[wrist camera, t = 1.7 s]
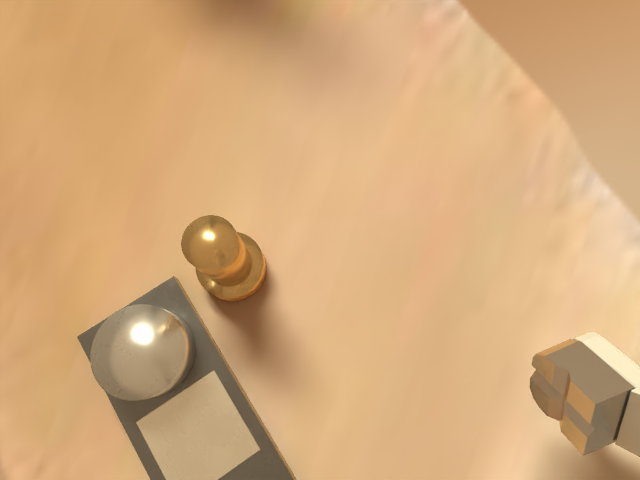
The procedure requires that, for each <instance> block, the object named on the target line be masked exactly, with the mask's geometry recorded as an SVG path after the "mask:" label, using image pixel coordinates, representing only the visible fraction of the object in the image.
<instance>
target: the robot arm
mask: <svg viewBox="0 0 640 480" xmlns="http://www.w3.org/2000/svg"><path fill="white" fill-rule="evenodd" d="M532 366H533V367H534V368H535V369H536V371H535V372H534V374H533V375H532V376H531V378H530V389H531V392H532V395H533V398H534V400H535V401H536V403H537V404H538V406H539V407H540V408H541V410H542V411H543V412H544V413H545V414H546V415H547V416H549V417H551V418H554V419H556V420H558V421H560V428H561V432H562V433H563V434H564V435H565V436H566V437H567V438H568V440H569V441H570V442H571V443H572V444H573V445H574V446H575V447H576V448H577V449H578V450H579V452H580V453H581V454H582V455H585V454H588V453H590V452H592V451H595V450H597V449H600V448H602V447H604V446H607V445H609V444H611V443H614V442H616V443H615V444H616V445H618V446H620V447H622V448H624V449H626V450H628V451H629V452H631V453H633V454H635V455H637V456H639V457H640V367H639V366H638V365H637V364H636V363H634V362H633V361H632V360H631V359H629V358H628V357H627V356H626V355H624V354H623V353H622V352H621V351H619V350H618V349H617V348H615V347H614V346H613V345H612V344H610V343H609V342H608V341H607V340H605V339H604V338H603V337H602V336H600V335H599V334H597V333H594V332H589V333H585V334H583V335H581V336H578V337H576V338H574V339H570V340H567V341H565V342H563V343H560V344H558V345H556V346H553V347H551V348H549V349H546V350H544V351H542V352H539V353H537V354H536V355H535V356H534V357H533V361H532Z"/></svg>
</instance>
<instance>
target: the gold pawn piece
mask: <svg viewBox="0 0 640 480" xmlns="http://www.w3.org/2000/svg"><path fill="white" fill-rule="evenodd" d="M181 246H182V251H183V254H184V256H185V258H186V259H187V260H188V261H189V262H190V263H191V264H192V265H193V266H195V267H196V274H197V277H198V280H199V282H200V283H201V285H202V286H203V287H204V288H205V289H206V290H207V291H208V292H210V293H211V294H213V295H214V296H216V297H217V298H219V299H222V300H225V301H239V300H243V299H246V298H248V297H249V296H251V295H252V294H254V293H255V292H256V291H257V290H258V289H259V288H260V286H261V285H262V283H263V281H264V278H265V275H266V262H265V258H264V255H263V254H262V252H261V250H260V248H259V246H258V245H257V243H256V242H255V241H254V240H253V239H251V238H250V237H249V236H247V235H245V234H242V233H239V232H236V231H235V229H234V228H233V226H232V225H231V224H230V223H229V222H228V221H227V220H226V219H224V218H222V217H219V216H214V215H208V216H203V217H200V218H198V219H196V220H194V221H193V222H192V223H191V224H190V225H189V226H188V227H187V228H186V230H185V232H184V234H183V236H182V242H181Z"/></svg>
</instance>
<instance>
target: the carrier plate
mask: <svg viewBox="0 0 640 480" xmlns="http://www.w3.org/2000/svg"><path fill="white" fill-rule="evenodd" d="M78 339H79V341H80V343H81V345H82V347H83V349H84V351H85V353H86V355H87V357H88V359H89V361H90V363H91V368H92V371H93V374H94V377H95V379H96V380H97V382H98V384H99V385H100V386H101V387H102V388H103V389H104V390H105V392H106V394H107V396H108V398H109V400H110V402H111V403H112V405H113V407H114V409H115V411H116V413H117V415H118V417H119V419H120V421H121V423H122V425H123V427H124V429H125V431H126V433H127V435H128V436H129V438H130V440H131V442H132V444H133V446H134V448H135V450H136V452H137V454H138V456H139V458H140V460H141V462H142V464H143V466H144V468H145V469H146V471H147V473H148V475H149V477H150V479H151V480H296V478H295V476H294V475H293V473H292V471H291V469H290V468H289V466H288V464H287V463H286V461H285V459H284V458H283V456H282V454H281V453H280V451H279V449H278V448H277V446H276V444H275V442H274V441H273V439H272V437H271V436H270V434H269V432H268V431H267V429H266V427H265V426H264V424H263V422H262V421H261V419H260V417H259V415H258V414H257V412H256V410H255V409H254V407H253V405H252V404H251V402H250V400H249V399H248V397H247V395H246V394H245V392H244V390H243V388H242V387H241V385H240V383H239V382H238V380H237V378H236V377H235V375H234V373H233V372H232V370H231V368H230V367H229V365H228V363H227V361H226V360H225V358H224V356H223V355H222V353H221V351H220V350H219V348H218V346H217V345H216V343H215V341H214V340H213V338H212V336H211V334H210V333H209V331H208V329H207V328H206V326H205V324H204V323H203V321H202V319H201V318H200V316H199V314H198V313H197V311H196V309H195V307H194V306H193V304H192V302H191V301H190V299H189V297H188V296H187V294H186V292H185V291H184V289H183V287H182V286H181V284H180V282H179V280H178V279H177V278H176V277H174V276H173V277H172V278H170V279H169V280H167V281H166V282H164V283H162V284H161V285H159V286H158V287H156V288H154V289H153V290H151V291H150V292H148V293H146V294H145V295H143V296H142V297H140V298H138V299H137V300H135V301H134V302H132V303H130V304H129V305H127V306H126V307H124V308H122V309H120V310H119V311H117V312H115V313H114V314H112V315H111V316H110V317H108V318H106V319H105V320H103V321H102V322H100V323H98V324H97V325H95V326H94V327H92V328H90V329H89V330H87V331H86V332H84V333H82V334H81V335H79V336H78Z"/></svg>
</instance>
